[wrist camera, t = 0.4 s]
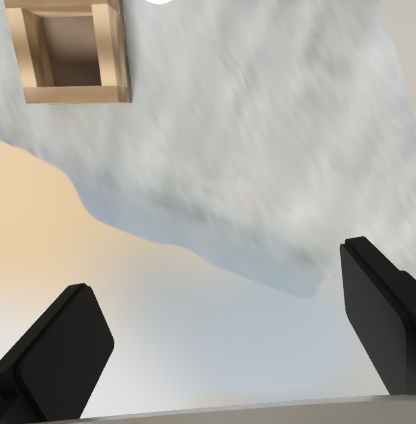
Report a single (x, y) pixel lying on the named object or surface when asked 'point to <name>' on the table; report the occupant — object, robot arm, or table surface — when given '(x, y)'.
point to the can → (158, 1)
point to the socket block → (70, 50)
